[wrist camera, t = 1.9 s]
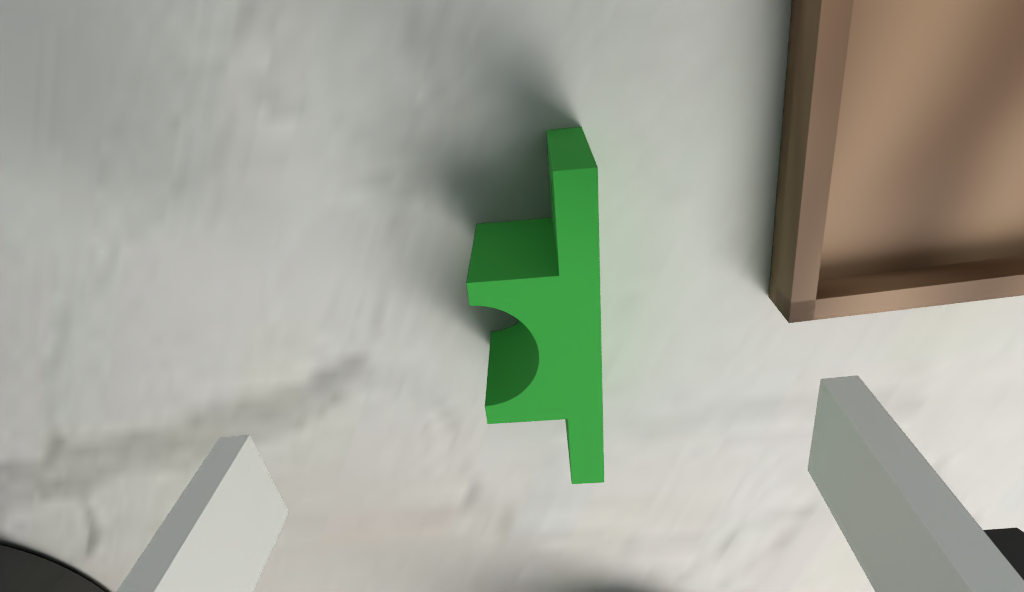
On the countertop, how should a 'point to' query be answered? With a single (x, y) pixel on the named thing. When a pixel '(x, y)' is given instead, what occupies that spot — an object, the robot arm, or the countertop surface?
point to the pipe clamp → (548, 308)
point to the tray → (900, 157)
